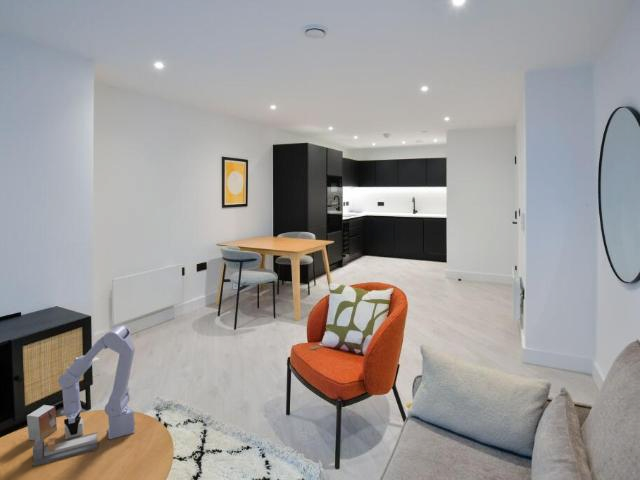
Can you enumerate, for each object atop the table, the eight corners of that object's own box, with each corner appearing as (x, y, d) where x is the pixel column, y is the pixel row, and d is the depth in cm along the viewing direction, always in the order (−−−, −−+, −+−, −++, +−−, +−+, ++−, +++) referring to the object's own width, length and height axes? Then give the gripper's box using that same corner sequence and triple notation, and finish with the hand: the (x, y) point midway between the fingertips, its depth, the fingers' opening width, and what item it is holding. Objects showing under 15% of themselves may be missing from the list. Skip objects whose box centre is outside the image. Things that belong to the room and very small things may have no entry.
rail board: (97, 434, 160) (96, 423, 159) (96, 449, 152) (96, 437, 151) (36, 450, 151) (35, 438, 150) (33, 466, 142) (31, 453, 141)
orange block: (56, 443, 151) (55, 437, 150) (55, 449, 147) (54, 443, 147) (49, 445, 150) (49, 438, 149) (48, 451, 146) (47, 445, 146)
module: (83, 428, 164) (82, 416, 163) (83, 434, 160) (82, 422, 159) (66, 433, 161) (65, 421, 160) (65, 439, 157) (64, 426, 157)
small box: (40, 442, 155) (38, 417, 154) (28, 440, 156) (26, 415, 155) (57, 429, 163) (55, 406, 162) (46, 428, 164) (43, 404, 163)
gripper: (61, 393, 163) (64, 423, 165) (58, 410, 150) (61, 443, 152) (81, 389, 166) (83, 418, 168) (79, 406, 154) (82, 438, 156)
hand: (74, 430), depth 161 cm, fingers open, 5 cm apart
